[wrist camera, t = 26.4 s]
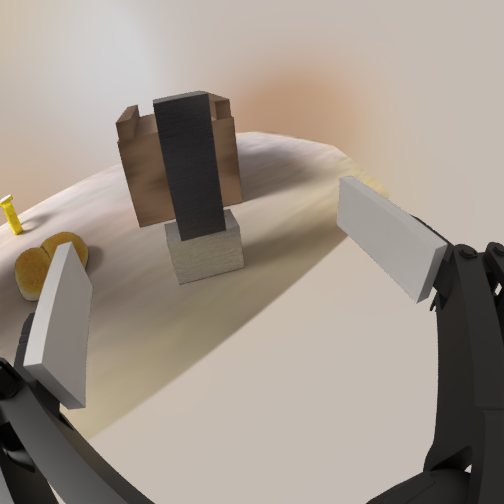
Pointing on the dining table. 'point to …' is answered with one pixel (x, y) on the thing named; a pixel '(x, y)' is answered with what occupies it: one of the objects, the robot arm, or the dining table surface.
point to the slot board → (152, 165)
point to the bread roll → (43, 263)
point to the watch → (11, 214)
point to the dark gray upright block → (195, 190)
